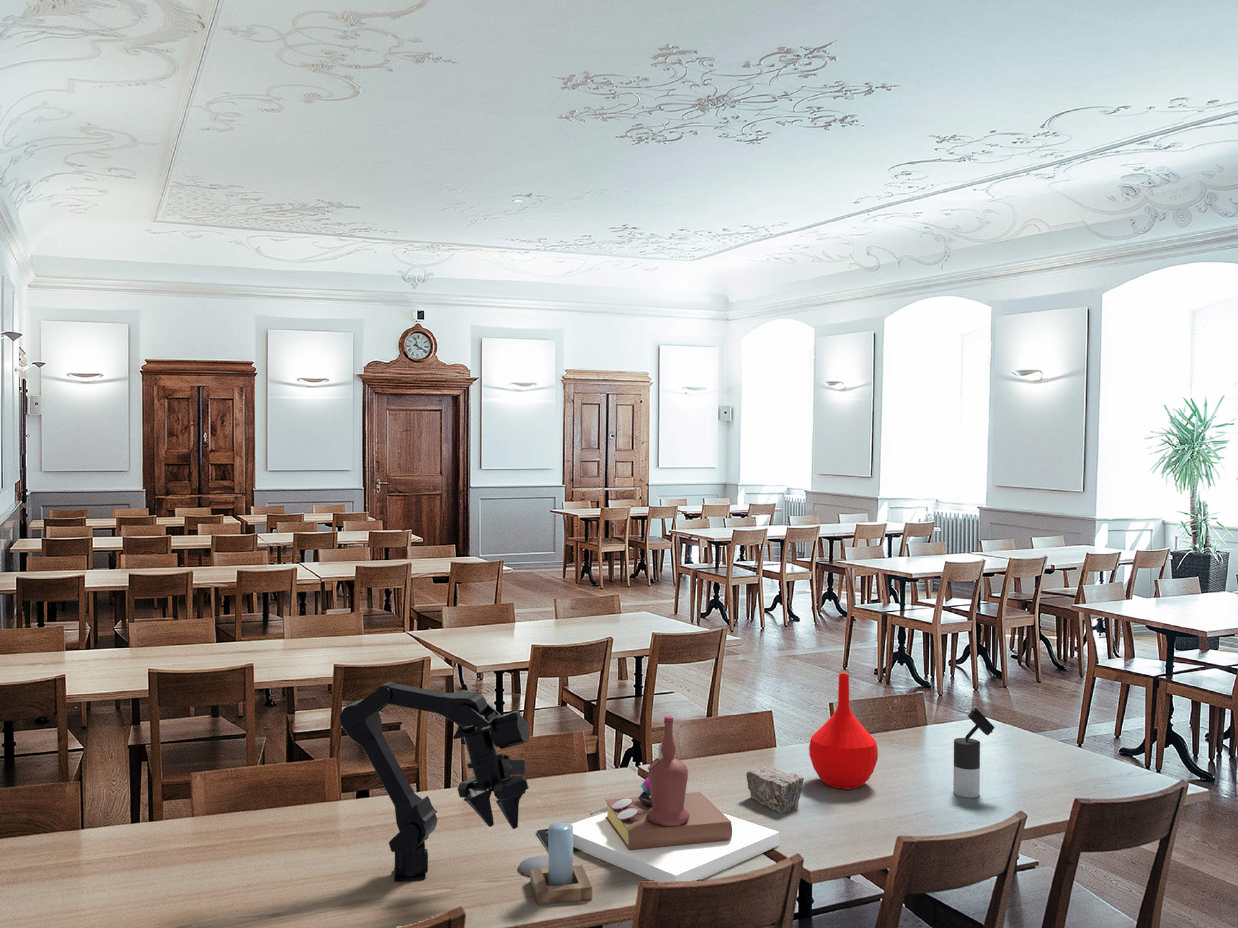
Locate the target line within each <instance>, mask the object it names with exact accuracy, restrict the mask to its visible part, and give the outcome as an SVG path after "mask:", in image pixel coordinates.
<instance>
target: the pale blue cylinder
mask: <svg viewBox="0 0 1238 928" xmlns="http://www.w3.org/2000/svg"><path fill="white" fill-rule="evenodd" d="M571 824H572V823H567V822H554V823H552V824H549V826H548V829H549V843H548V850H547V852H548V855H547V856H548V885H547V886H555V885H567V884H574V883H573V866H574V853H573V826H572V825H571Z"/></svg>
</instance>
